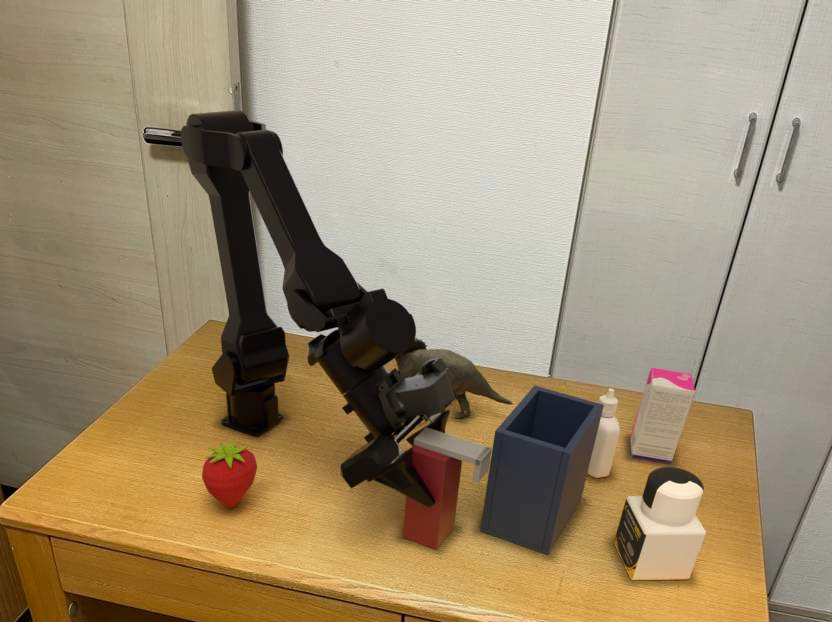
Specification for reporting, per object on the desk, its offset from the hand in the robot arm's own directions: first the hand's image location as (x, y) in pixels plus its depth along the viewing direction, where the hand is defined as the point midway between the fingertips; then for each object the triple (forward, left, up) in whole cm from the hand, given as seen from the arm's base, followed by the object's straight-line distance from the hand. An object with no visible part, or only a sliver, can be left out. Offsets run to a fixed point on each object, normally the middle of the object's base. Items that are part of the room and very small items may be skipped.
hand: (443, 491), depth 93 cm
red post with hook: (0, 0, -7) cm, 7 cm away
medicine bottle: (+24, +9, -7) cm, 26 cm away
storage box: (+8, +10, -7) cm, 15 cm away
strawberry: (-24, -8, -7) cm, 27 cm away
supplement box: (+18, +34, -7) cm, 39 cm away
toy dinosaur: (-13, +27, -7) cm, 31 cm away
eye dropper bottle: (+12, +25, -7) cm, 28 cm away
